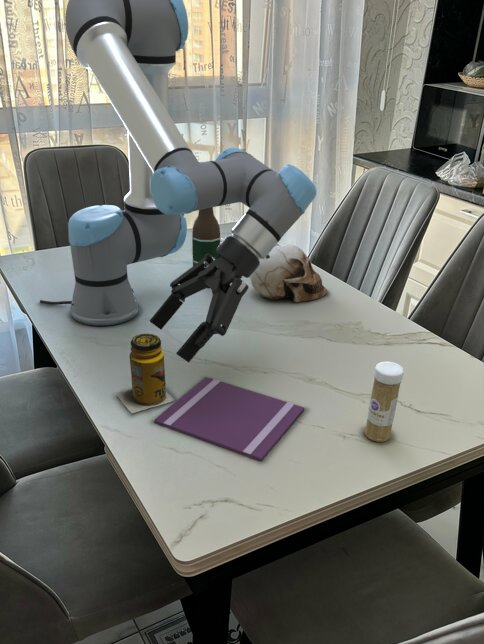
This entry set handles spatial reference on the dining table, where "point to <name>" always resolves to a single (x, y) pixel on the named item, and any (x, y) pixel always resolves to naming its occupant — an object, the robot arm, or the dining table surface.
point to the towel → (231, 417)
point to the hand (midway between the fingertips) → (168, 341)
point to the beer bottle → (205, 235)
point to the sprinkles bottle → (383, 400)
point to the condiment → (146, 375)
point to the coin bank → (287, 275)
